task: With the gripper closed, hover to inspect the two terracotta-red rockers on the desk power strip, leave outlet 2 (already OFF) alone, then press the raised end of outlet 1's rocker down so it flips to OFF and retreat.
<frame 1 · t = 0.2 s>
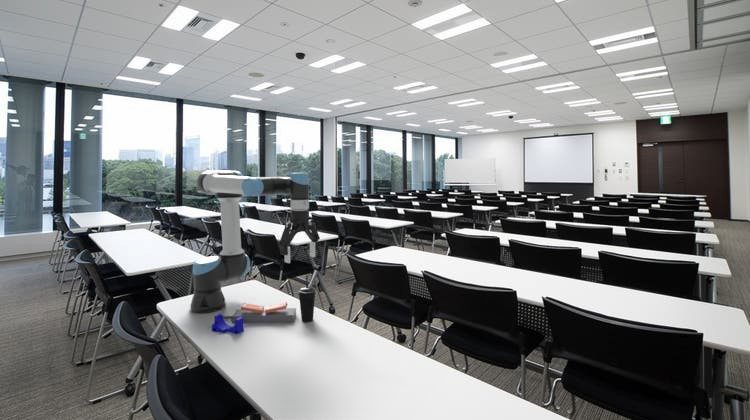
hand: (300, 259, 152), 27 cm above the table, fingers open, 13 cm apart
rocker 2: (276, 307, 157), point 5 cm above the table, hinge at -12.0°
power strip: (264, 319, 157), on the table
drinking cup: (307, 320, 157), on the table
rocker 1: (252, 308, 157), point 5 cm above the table, hinge at 12.0°
cable clip: (227, 332, 146), on the table
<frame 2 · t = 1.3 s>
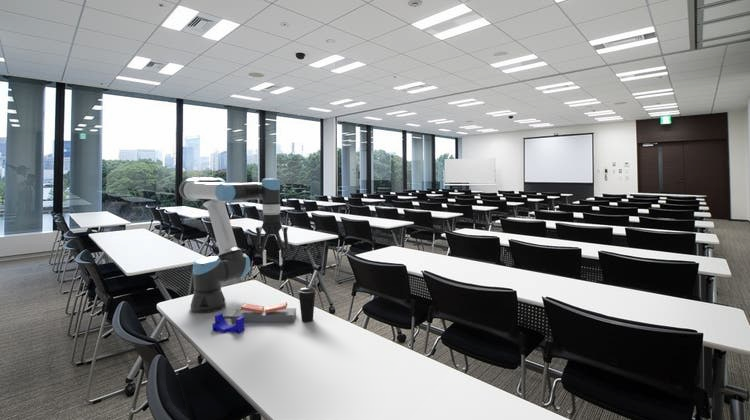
hand: (272, 264, 161), 23 cm above the table, fingers open, 6 cm apart
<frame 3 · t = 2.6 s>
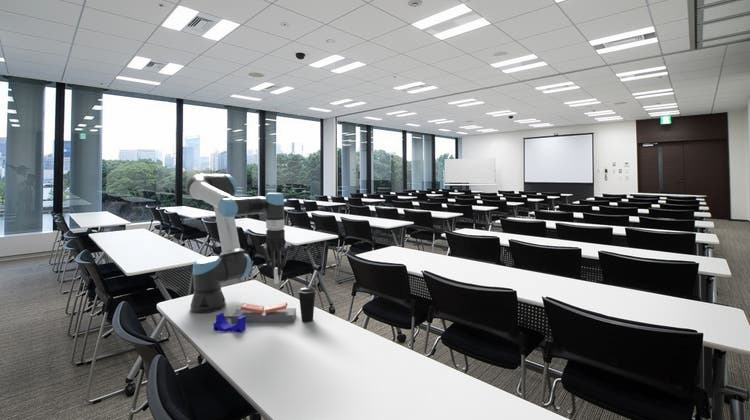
hand: (276, 282, 156), 16 cm above the table, fingers closed
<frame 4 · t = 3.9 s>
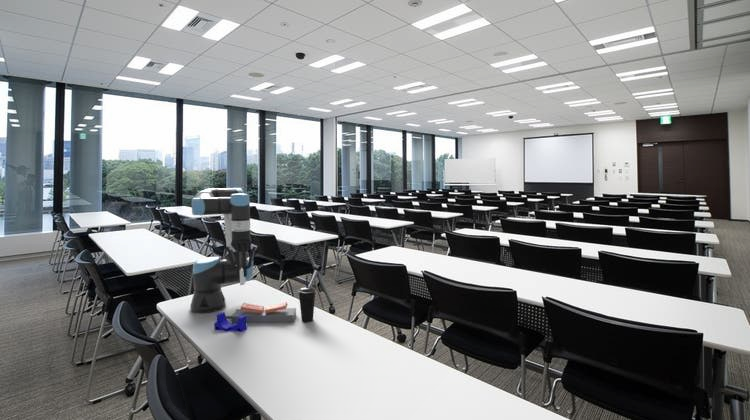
hand: (242, 284, 155), 16 cm above the table, fingers closed
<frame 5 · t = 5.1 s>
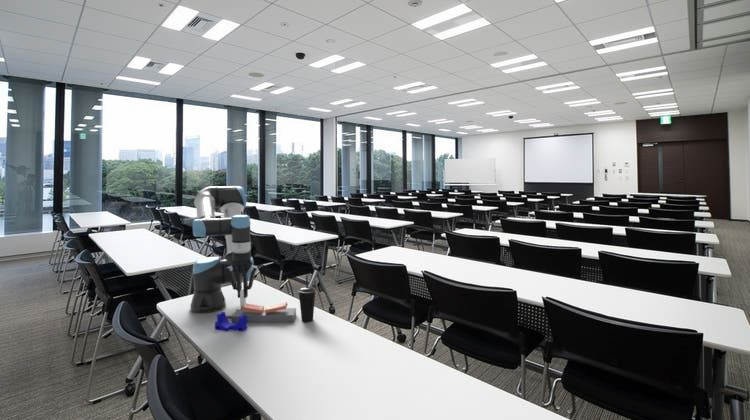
hand: (243, 304, 156), 7 cm above the table, fingers closed
rocker 1: (252, 308, 157), point 5 cm above the table, hinge at 11.7°, touching gripper
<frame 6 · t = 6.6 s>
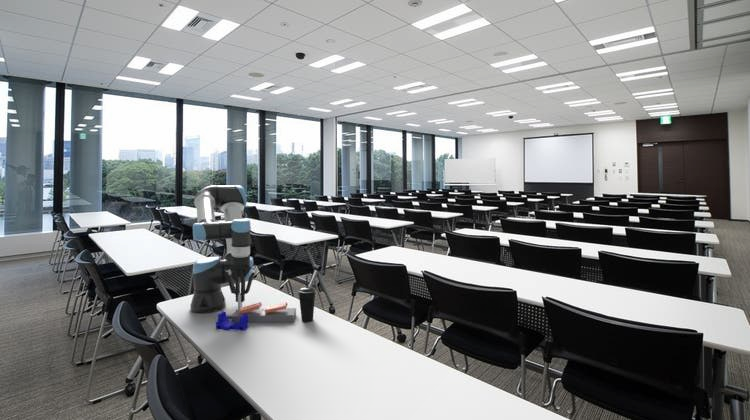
hand: (240, 308, 156), 5 cm above the table, fingers closed
rocker 1: (250, 308, 156), point 5 cm above the table, hinge at -16.3°, touching gripper, power strip
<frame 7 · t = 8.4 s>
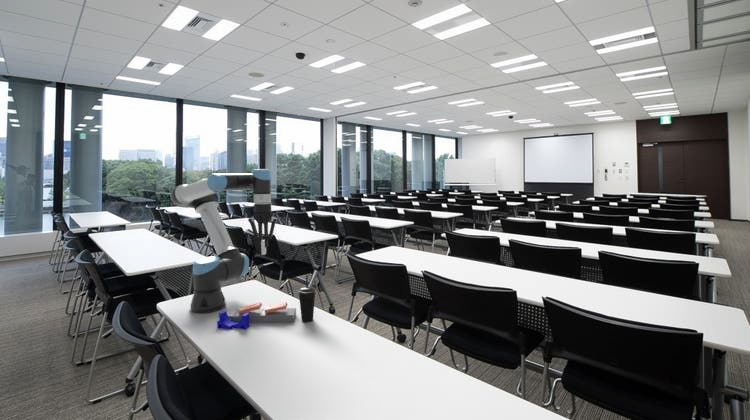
hand: (263, 254, 166), 26 cm above the table, fingers closed
rocker 1: (250, 308, 156), point 5 cm above the table, hinge at -14.8°
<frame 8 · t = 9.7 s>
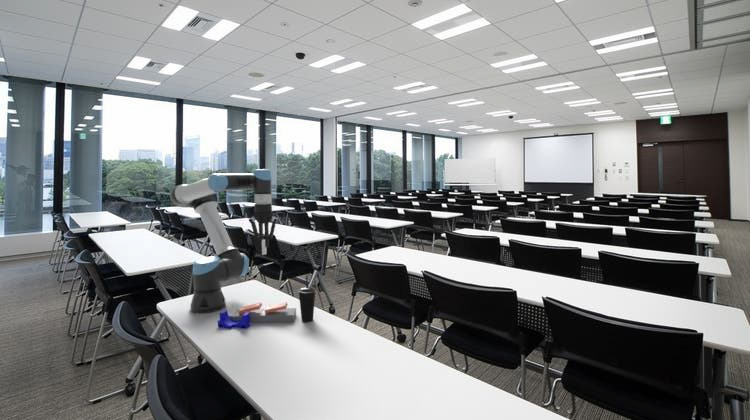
hand: (264, 254, 166), 26 cm above the table, fingers closed
at the end: rocker 1 at -15° (first picture: +12°); rocker 2 at -12° (first picture: -12°) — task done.
